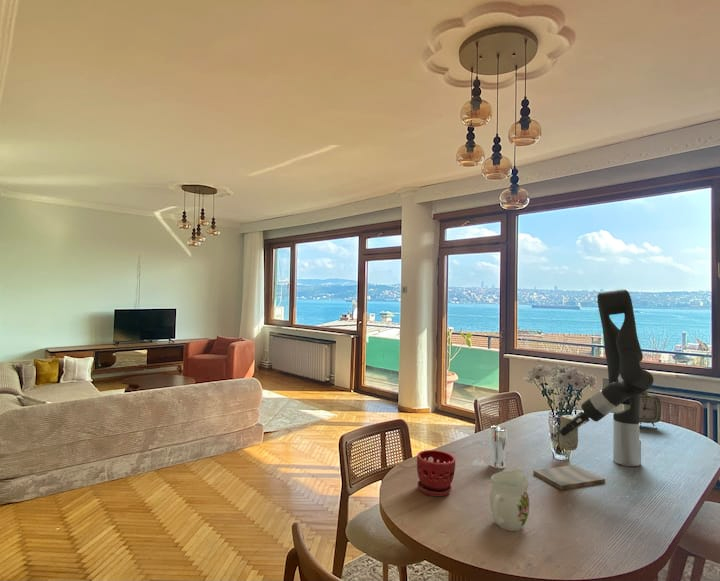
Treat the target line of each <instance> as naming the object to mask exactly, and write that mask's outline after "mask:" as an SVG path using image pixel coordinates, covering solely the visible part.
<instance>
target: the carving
mask: <svg viewBox="0 0 720 581" xmlns="http://www.w3.org/2000/svg"><path fill="white" fill-rule="evenodd" d="M574 417H576V415H571V414H564V415H560V419H559V420H560V426H559V431H560V430H561V429H563V428H564V427H565V426H566V425H567V424H569V423H570V422H571V420H572V419H573V418H574ZM570 425H571V426H572V428H574V427H575V426H574V425H573V424H572V423H571V424H570ZM558 439H559V441H558V443H559V446H560V448H562V449H563V450H565V451H575V450H576V449H577V448H578V445H579V444H578V442H579V428H575V429H573V431H570V432H569V433H567V434H566V435H565V436H562V434H561V433H560V432H559V438H558Z"/></svg>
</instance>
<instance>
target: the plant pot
mask: <svg viewBox="0 0 720 581" xmlns="http://www.w3.org/2000/svg"><path fill="white" fill-rule="evenodd" d="M429 458H432V459H433V461H429ZM416 471H417V476H418V479H419V480H418V482H417V488H418V489H419V491H421V492H422V493H424V494H426V495H428V496H431V497H432V496H433V497H443V496H447V495H448V494H449V493H450V492H452V482H453V479H454V476H455V472H456V458H455V457H454V456H453V455H452V454H450V453H448V452H445V451H442V450H434V449H429V450H422V451H419V452H418V453H417V456H416Z"/></svg>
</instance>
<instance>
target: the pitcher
mask: <svg viewBox="0 0 720 581" xmlns="http://www.w3.org/2000/svg"><path fill="white" fill-rule="evenodd" d="M490 479H491V483H492V486H491V489H490V490H491V491H490V495H489V505H490V510H491V513H492V519H493V521H494V523H495V524H496V525H498V526H499V528H501V529H503V530H506V531H510V532H516V531H519V530H520V531H521V529H522V528H523V527H524V526H525V524H526V522H527V519H528V517H529V513H530V497H529V493H528V486H529V480H528V478H526V476H525V472H524V471H523V470H520V469H513V470H510V471H509V470H508V471H500V472H495V473H494V474H492V475H491V478H490Z"/></svg>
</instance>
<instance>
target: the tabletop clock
mask: <svg viewBox="0 0 720 581" xmlns="http://www.w3.org/2000/svg"><path fill="white" fill-rule="evenodd" d="M629 408H630V405H626V404H624V410H627V409H629ZM661 415H662V405H661V400H660V398H659V397H657V396H655V395H653V394H650V393H649V392H648V390H646V391H645V392H643V393H641V394H640V415H639V423H641V424H642V423H643V424H652V426H653V427H654V426H656V425H655V424H656V423H659V422H660V420H661Z"/></svg>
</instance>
